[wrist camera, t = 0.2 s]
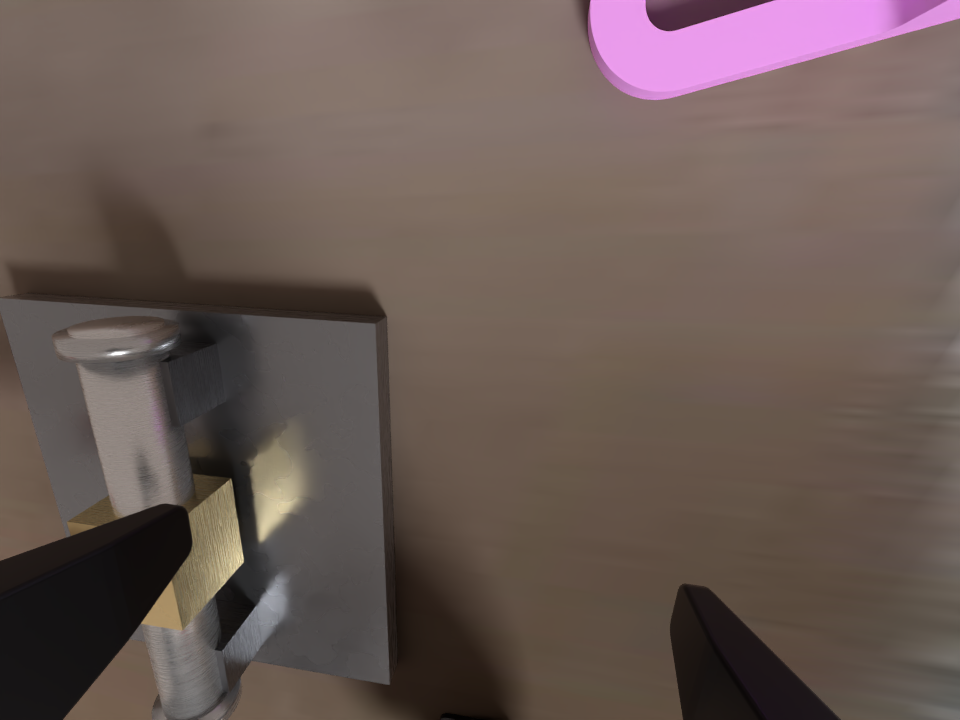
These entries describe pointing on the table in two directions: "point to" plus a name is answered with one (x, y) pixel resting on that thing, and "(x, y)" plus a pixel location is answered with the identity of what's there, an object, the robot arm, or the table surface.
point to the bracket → (742, 39)
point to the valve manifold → (227, 476)
